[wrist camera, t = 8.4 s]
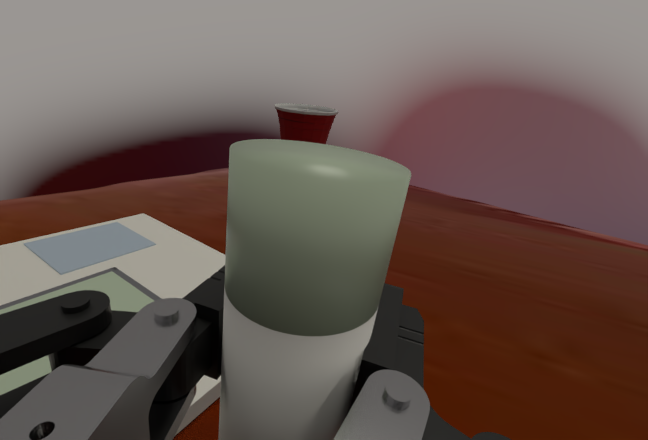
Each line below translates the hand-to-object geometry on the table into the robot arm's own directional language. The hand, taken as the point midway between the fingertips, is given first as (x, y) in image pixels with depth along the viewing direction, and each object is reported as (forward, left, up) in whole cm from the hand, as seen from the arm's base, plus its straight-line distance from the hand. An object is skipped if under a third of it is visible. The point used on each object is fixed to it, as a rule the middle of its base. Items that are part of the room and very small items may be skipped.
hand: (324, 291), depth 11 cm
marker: (-1, +3, -7) cm, 8 cm away
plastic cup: (+28, -39, -8) cm, 49 cm away
